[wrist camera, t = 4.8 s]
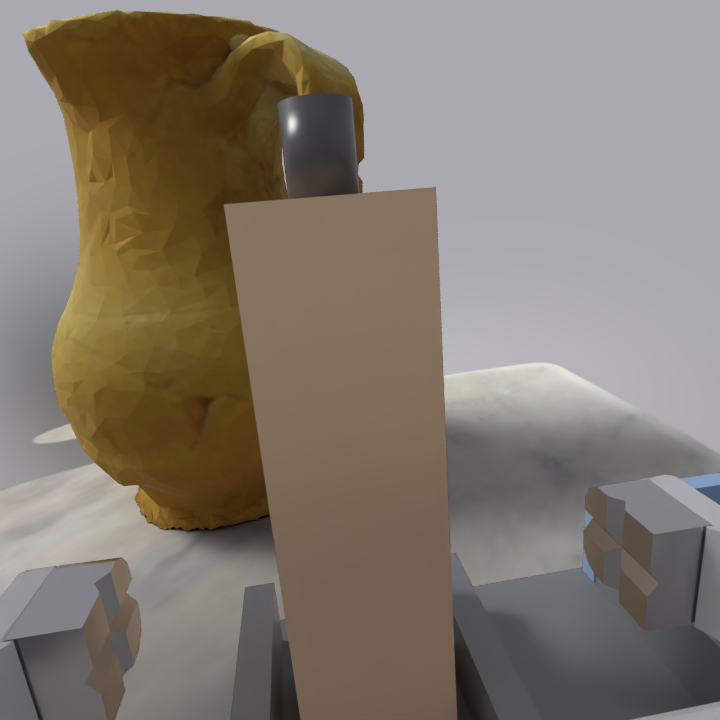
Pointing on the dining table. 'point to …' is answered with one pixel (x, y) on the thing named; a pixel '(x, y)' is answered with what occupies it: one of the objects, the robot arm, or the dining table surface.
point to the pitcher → (170, 244)
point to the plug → (351, 423)
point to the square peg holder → (520, 651)
